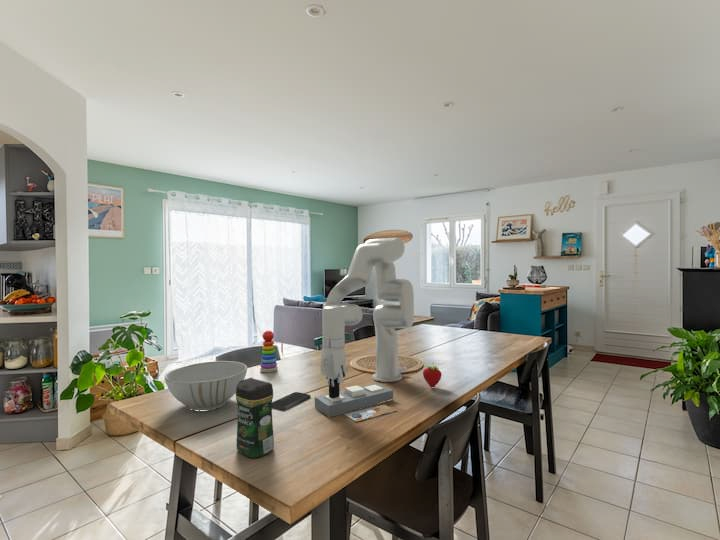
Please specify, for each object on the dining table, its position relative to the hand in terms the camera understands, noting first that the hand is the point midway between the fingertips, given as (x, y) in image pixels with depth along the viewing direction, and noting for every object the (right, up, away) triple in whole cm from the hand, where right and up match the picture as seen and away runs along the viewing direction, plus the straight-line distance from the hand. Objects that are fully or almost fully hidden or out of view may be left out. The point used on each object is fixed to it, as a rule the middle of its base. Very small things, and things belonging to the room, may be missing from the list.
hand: (334, 396), depth 124 cm
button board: (+7, -4, +5) cm, 9 cm away
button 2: (+14, -3, +9) cm, 17 cm away
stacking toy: (-34, -4, +47) cm, 58 cm away
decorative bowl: (-45, -5, +6) cm, 46 cm away
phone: (-16, -5, +7) cm, 19 cm away
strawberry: (+37, -4, +20) cm, 43 cm away
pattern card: (+12, -4, -4) cm, 13 cm away
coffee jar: (-19, -5, -27) cm, 34 cm away
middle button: (+7, -2, +5) cm, 9 cm away
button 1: (0, -3, 0) cm, 4 cm away
